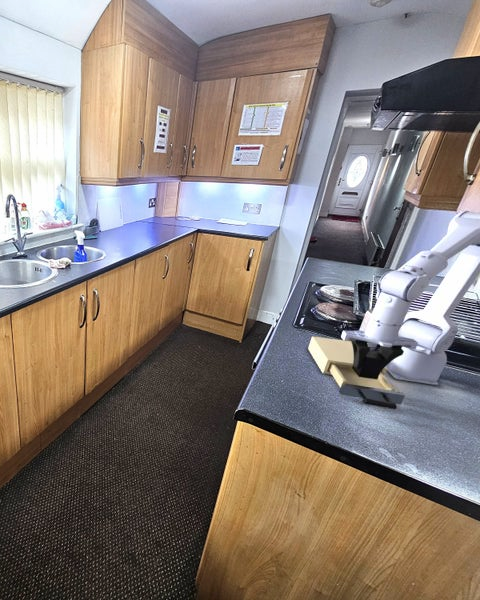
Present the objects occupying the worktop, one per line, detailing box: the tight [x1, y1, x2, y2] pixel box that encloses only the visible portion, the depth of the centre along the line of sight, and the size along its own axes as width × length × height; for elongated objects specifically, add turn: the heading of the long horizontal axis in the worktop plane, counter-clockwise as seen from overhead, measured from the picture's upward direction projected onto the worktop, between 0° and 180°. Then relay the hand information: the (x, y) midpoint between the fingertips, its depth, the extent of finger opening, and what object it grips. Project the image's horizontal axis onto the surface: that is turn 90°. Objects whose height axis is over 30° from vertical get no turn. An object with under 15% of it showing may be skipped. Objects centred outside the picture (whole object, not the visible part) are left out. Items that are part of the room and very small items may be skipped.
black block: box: [352, 350, 386, 380], centre depth 83 cm, size 4×4×6 cm
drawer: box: [328, 363, 406, 410], centre depth 84 cm, size 17×12×3 cm
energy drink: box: [358, 308, 378, 351], centre depth 102 cm, size 5×5×12 cm
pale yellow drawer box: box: [307, 335, 388, 376], centre depth 95 cm, size 14×14×5 cm
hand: (366, 367), depth 84 cm, fingers closed on black block, 4 cm apart
